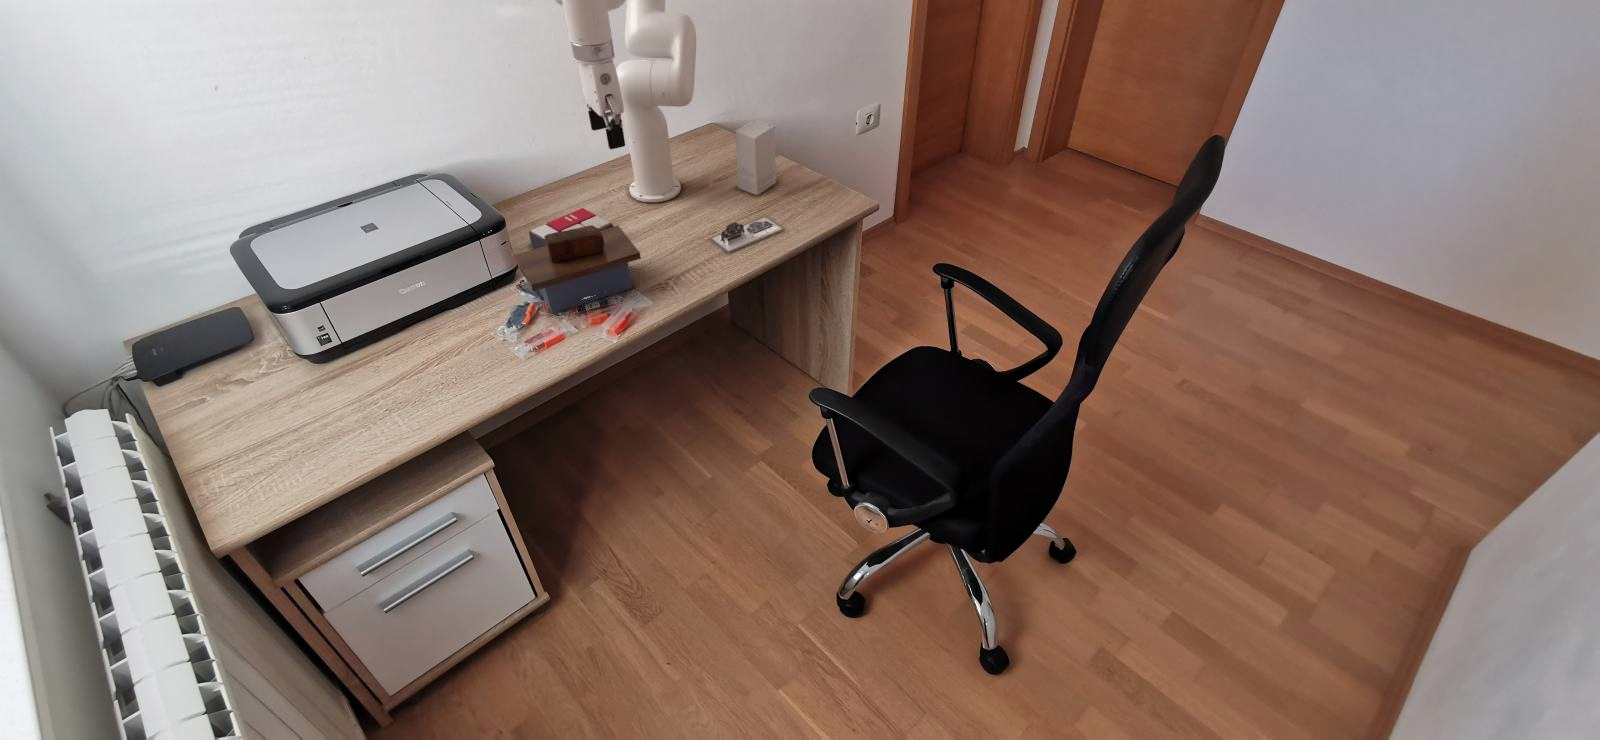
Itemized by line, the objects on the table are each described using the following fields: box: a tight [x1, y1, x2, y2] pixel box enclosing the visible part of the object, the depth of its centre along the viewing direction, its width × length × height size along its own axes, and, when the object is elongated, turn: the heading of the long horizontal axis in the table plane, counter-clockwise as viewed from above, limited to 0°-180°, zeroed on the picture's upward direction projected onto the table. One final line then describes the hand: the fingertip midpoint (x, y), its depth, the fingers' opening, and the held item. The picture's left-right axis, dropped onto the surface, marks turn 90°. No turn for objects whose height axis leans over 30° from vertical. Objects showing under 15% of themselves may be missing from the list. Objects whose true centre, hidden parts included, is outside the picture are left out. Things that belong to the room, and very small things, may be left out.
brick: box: [544, 225, 604, 262], centre depth 148 cm, size 11×4×5 cm, turn 116°
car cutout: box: [712, 216, 783, 253], centre depth 169 cm, size 15×7×4 cm, turn 129°
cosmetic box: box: [734, 118, 777, 196], centre depth 183 cm, size 8×7×16 cm
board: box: [513, 225, 642, 292], centre depth 150 cm, size 12×22×2 cm, turn 121°
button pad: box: [528, 207, 614, 249], centre depth 167 cm, size 11×4×15 cm
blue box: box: [538, 262, 633, 314], centre depth 153 cm, size 10×17×7 cm, turn 121°
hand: (608, 137), depth 148 cm, fingers open, 9 cm apart
